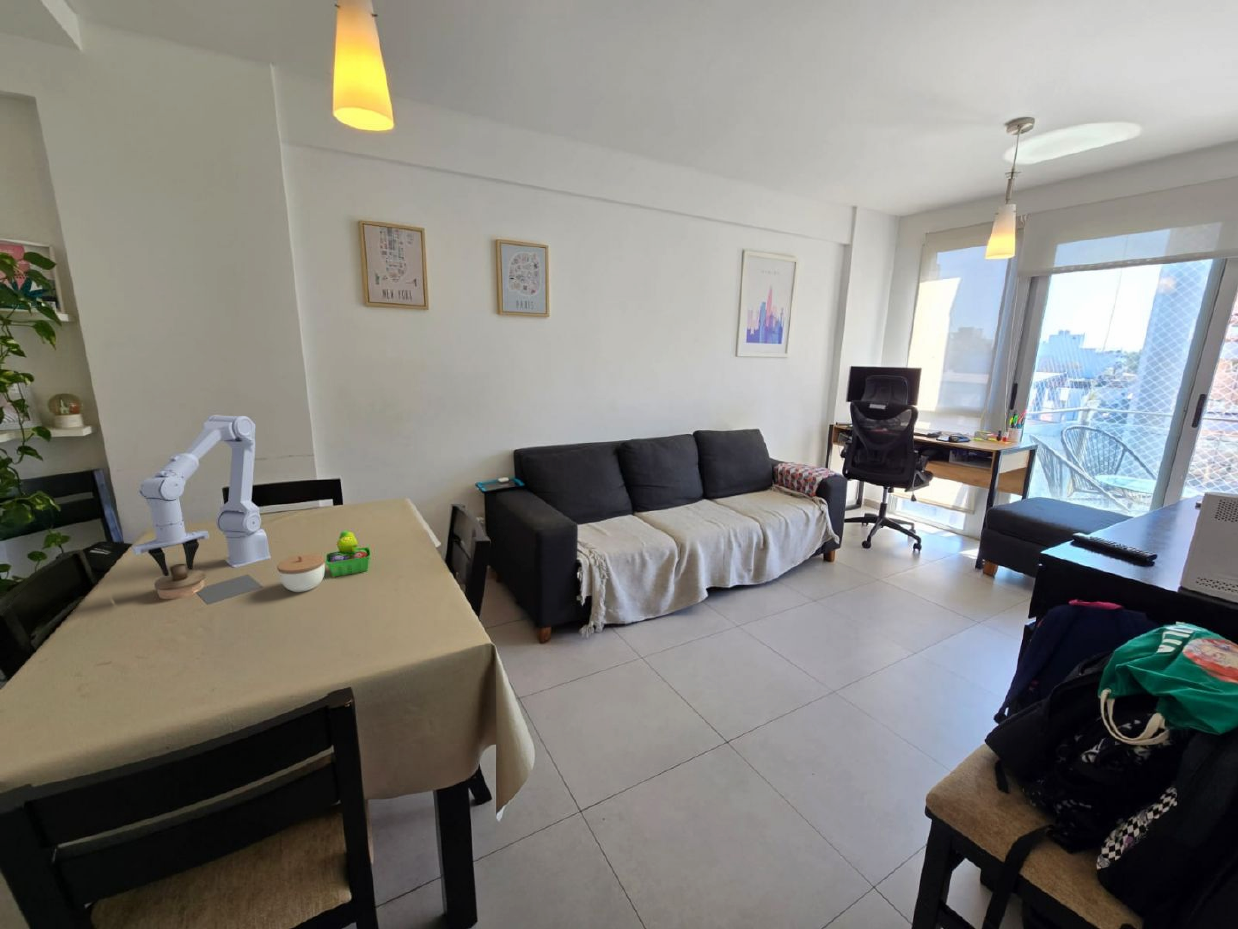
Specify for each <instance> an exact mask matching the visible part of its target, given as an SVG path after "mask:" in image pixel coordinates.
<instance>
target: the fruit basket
mask: <svg viewBox="0 0 1238 929" xmlns="http://www.w3.org/2000/svg"><path fill="white" fill-rule="evenodd" d="M338 538H339V539H338V540H337V542H336V546H337V548H338V551H334V552H329V553H327V554H326V557H325V565H326V566H327V567H328V569H329V571H330V574H331V576H332V577H333V578H334V577H339V576H346V575H350V574H352V575H353V574H357V573H358V574H359V573H362V572H368V570H369V565H370V559H371V555H372V554H371V546H370V547H369V546H368V547H367V546H366V547H359V548H358V544H359V543H358V540H357V539H356V537H355V534H354V533H353V532H351V531H349V530H343V531H342V532H340V535H339V537H338Z"/></svg>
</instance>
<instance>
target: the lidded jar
mask: <svg viewBox="0 0 1238 929" xmlns="http://www.w3.org/2000/svg"><path fill="white" fill-rule="evenodd" d="M325 566H326V558H325V556H323V555H322V554H319V553H304V554H298V555H294V556H291V557H288V558H285V559H283V560H282V561H280V562H278V564H277V566H276V567H277V571H278V572H277V573H278V577H279V580H280V582H281V585H283V586H284V588H286V589H287V590H288V591H292V592H294V593H303V592H309V591H311V590H313V589H315V588H317V587H318V585H320V584H321V582H322V581H323V579H324V577H325V573H326V572H325V571H326V569H325V568H326V567H325Z"/></svg>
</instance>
